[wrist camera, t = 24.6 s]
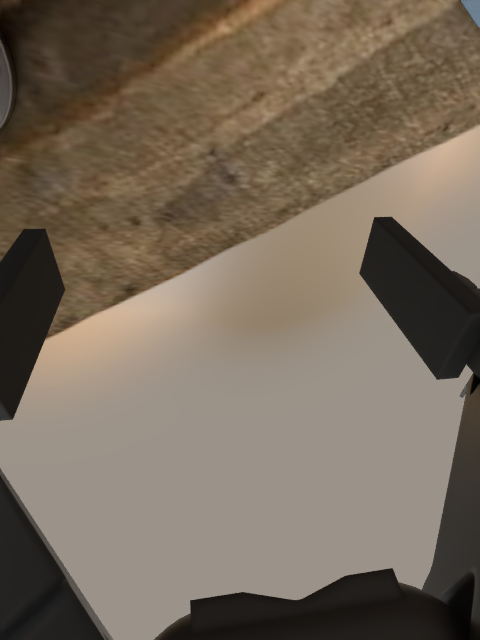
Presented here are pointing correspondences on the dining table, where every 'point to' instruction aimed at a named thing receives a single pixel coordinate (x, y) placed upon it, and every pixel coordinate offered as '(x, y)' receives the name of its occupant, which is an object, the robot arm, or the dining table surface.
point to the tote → (473, 9)
